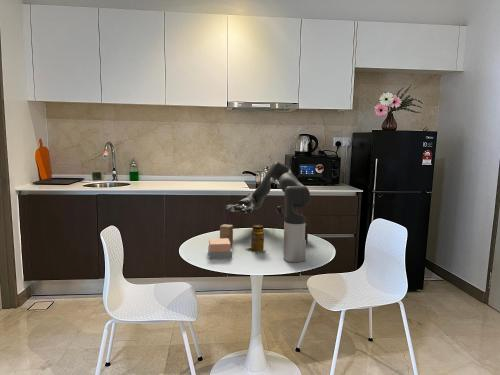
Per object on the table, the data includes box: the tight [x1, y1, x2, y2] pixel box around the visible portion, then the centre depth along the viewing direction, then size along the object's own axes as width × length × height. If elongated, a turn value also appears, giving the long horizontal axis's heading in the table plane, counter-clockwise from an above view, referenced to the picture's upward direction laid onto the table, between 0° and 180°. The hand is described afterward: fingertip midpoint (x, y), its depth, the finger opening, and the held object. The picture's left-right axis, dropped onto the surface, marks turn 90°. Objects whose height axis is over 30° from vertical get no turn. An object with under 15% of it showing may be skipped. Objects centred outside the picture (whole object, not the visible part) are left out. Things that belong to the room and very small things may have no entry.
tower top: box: [208, 238, 232, 252], centre depth 176 cm, size 9×9×4 cm
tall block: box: [219, 223, 234, 246], centre depth 192 cm, size 5×5×10 cm
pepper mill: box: [275, 205, 309, 244], centre depth 202 cm, size 16×11×18 cm
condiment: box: [244, 224, 267, 254], centre depth 184 cm, size 7×8×12 cm
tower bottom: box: [207, 245, 233, 260], centre depth 177 cm, size 10×10×4 cm
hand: (234, 211), depth 201 cm, fingers open, 8 cm apart
